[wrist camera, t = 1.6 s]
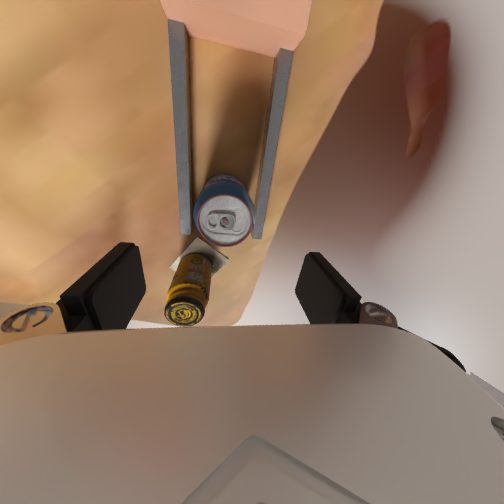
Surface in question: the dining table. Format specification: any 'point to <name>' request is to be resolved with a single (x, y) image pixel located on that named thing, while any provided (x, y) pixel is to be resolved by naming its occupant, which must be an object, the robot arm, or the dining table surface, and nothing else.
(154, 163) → the dining table surface
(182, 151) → the guide channel
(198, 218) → the soda can
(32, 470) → the robot arm
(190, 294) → the condiment
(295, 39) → the stop block
